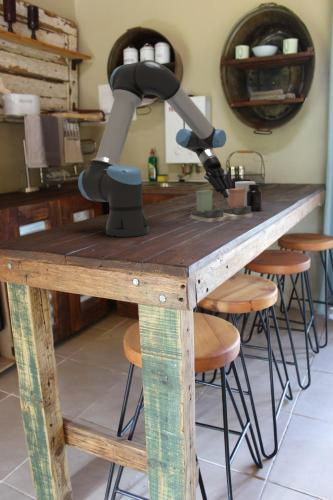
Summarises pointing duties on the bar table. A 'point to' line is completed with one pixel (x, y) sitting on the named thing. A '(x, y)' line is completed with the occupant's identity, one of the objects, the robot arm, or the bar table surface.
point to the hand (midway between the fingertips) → (232, 202)
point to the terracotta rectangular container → (236, 197)
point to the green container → (204, 200)
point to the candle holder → (244, 186)
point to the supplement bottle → (254, 197)
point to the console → (222, 214)
